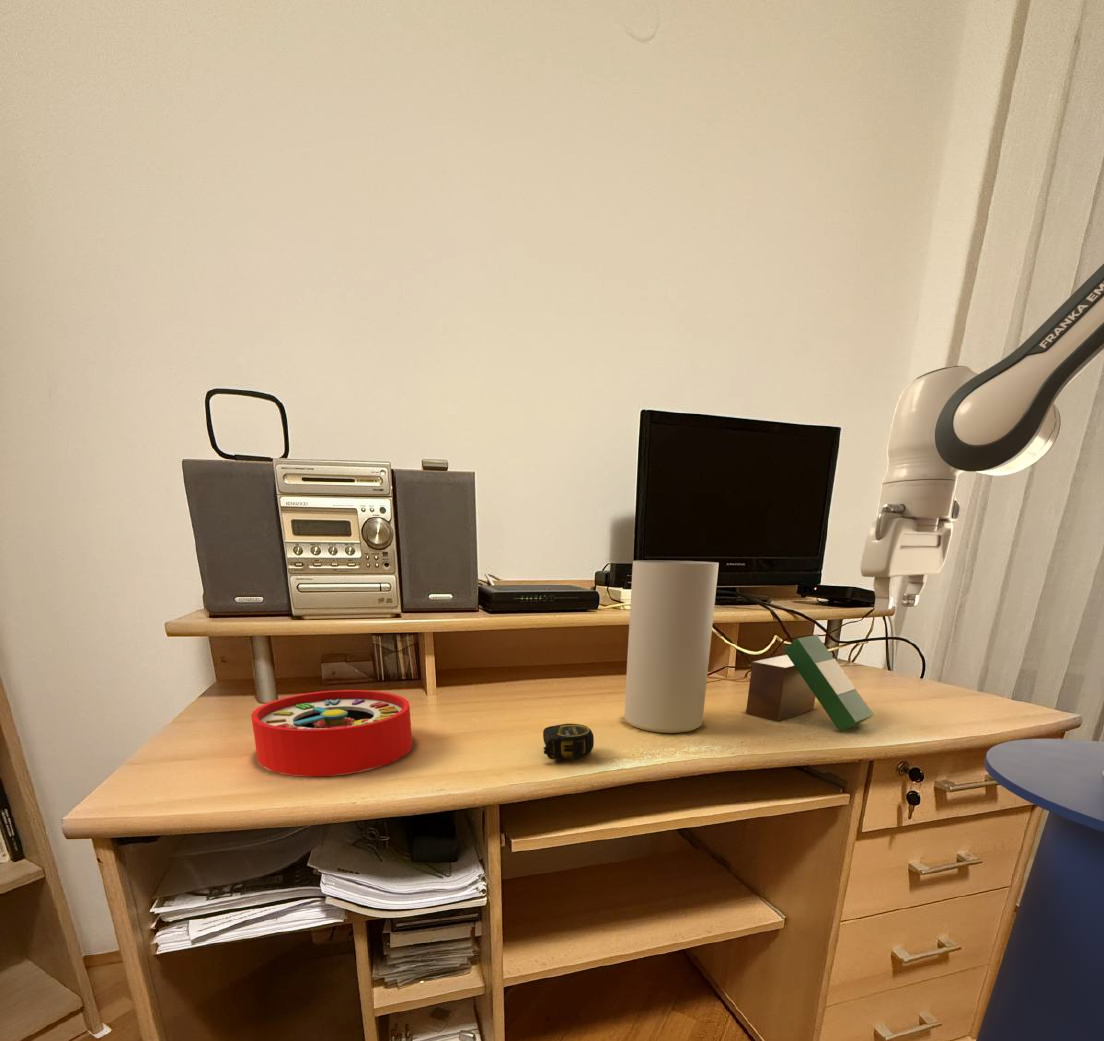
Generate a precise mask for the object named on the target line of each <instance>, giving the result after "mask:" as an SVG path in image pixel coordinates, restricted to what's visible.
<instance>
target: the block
mask: <svg viewBox="0 0 1104 1041" xmlns="http://www.w3.org/2000/svg"><path fill="white" fill-rule="evenodd" d="M748 685H749V686H748V693H747V700H746V708H745V713H746V714H748V715H752V716H755V717H760V718H763V719H767V720H771V721H775V722H779V721H782V720H786V719H788V718H792V717H794V716H798V715H801V714H803V713H807V712H809V711H810V712H811V711H813V710H814V707H815V703H816V696H815V695H814V694H813V692H812V691H811V689H810V688H809V686H808V685H807V683H806V682H805V680H804V679H803V677H802V676H801V675H800V673H799V672H798V670H797V669H796V667H795V666H794V664H793V663H792V661H791V660H790V659H789V657H788V656H787V654H783V655H779V656H778V655H777V656H774V657H769V658H763V659H759V660H755V661H752V662H751V669H750V678H749V684H748Z"/></svg>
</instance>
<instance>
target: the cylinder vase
mask: <svg viewBox="0 0 1104 1041" xmlns="http://www.w3.org/2000/svg"><path fill="white" fill-rule="evenodd" d="M719 564H720V563H719V562H714V561H697V560H696V561H694V560H633V561H632V569H631V586H630V587H631V588H630V589H631V590H630V608H629V624H628V625H629V626H628V642H627V643H628V644H627V661H626V676H625V677H626V678H625V692H624V694H625V695H624V711H623V712H624V714H623V717H624V719H625V721H626V722H627V724H628V725H630V726H632V727H634V728H636V729H640V730H642V731H647V732H652V733H653V732H654V733H661V734H680V733H681V734H682V733H687V732H691V731H694V730H697V729H698V728H700V726H701V725H702V724H703V721H704V713H705V701H706V693H707V685H708V684H707V683H708V672H709V664H710V652H711V643H712V634H713V623H714V615H715V606H716V605H715V603H716V596H717V595H716V594H717V585H718V584H717V583H718V574H719Z"/></svg>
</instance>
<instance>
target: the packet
mask: <svg viewBox="0 0 1104 1041" xmlns="http://www.w3.org/2000/svg"><path fill="white" fill-rule="evenodd" d="M783 651H784V653H785V655H787V656H788V657H789V659H790V660H791V661H792V663H793V664H794V666H795V667H796V669H797V670H798V672H799V673H800V675H801V676H802V677H803V679H804V680H805V682H806V683H807V685H808V686H809V688H810V689H811V691H812V692H813V694H814V695H815V696H816V697H815V699H816V700H817V701H818V702H819V704H820V705H821V707H822V708H823V710H824V711H825V713H826V714H827V715H828V717H829V718H830V720H831V721H832V723H833V724H834V726H835V727H836V729H837V730H838V731H839V732H842V731H845V730H847V729H850V728H853V727H855V726H857V725H860V724H862V723H863V722H865V721H867V720H868V719H871V717H873V716H874V715H875V714H874V712H872V710H871V708H870V707H869V706H868V704H867V703H866V701H865V700H864V699H863V697H862V696H861V694H860V693H859V691H858V690H857V688H856V686H855V685H854V684H853V682H852V681H851V680H850V677H848V675H847V674H846V672H845V671H844V669H843V668H842V667H841V665H840V664H839V662H838V661H837V660H836V658H834V656H833V655H832V654H831V652H830V651H829V650H828V648H827V647H826V646H825V644H824V643H823V641H822V640H821V639H820V637H819V635H818V634H815V635H810V636H804V637H798V638H796V639H795V640H793V641H792V642H791V643H789V644H788V645H787V646H786V647H784V648H783Z"/></svg>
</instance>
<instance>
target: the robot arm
mask: <svg viewBox="0 0 1104 1041" xmlns="http://www.w3.org/2000/svg"><path fill="white" fill-rule="evenodd" d="M1103 353H1104V263H1102V265H1100V266H1099V267H1098V268H1097V269H1096V271H1094V272H1093V273H1092V274H1091V275H1090V276H1089V277H1088V279H1087V280H1085V281H1084V282H1083V283H1082V284H1081V285H1080V286H1079V287H1078V288H1077V289H1076V290H1075V291H1074V292H1073V293H1072V294H1071V295H1070V296H1069V297H1068V298H1067V299H1066V300H1065V301H1064V302H1063V303H1062V304H1061V305H1060V306H1059V307H1058V308H1057V309H1056V310H1055V311H1054V312H1053V313H1052V314H1051V315H1050V316H1049V317H1048V318H1047V319H1046V320H1045V321H1044V322H1043V323H1042V324H1040V326H1039V327H1038V328H1037V329H1036V330H1035V331H1034V332H1033V333H1032V334H1031V335H1030V336H1029V337H1028V338H1027V339H1026V340H1025V341H1024V342H1023V343H1022V344H1021V345H1019V346H1018V347H1017V348H1016V349H1015V350H1014V351H1013V352H1011V353H1010V354H1008V355H1007V356H1005V357H1004V358H1003V359H1001V360H1000V361H998V362H997V363H995V364H994V365H992V366H990V367H989V368H987V369H985V370H983V371H982V372H980V373H977V372H975V371H974V370H972V369H971V368H970V367H968V366H966V365H954V366H953V365H952V366H948V367H947V366H946V367H941V368H937V369H935V370H931V371H928V372H925V373H924V374H921V375H919V376H918V377H916V378H915V379H914V380H912V381H911V382H909V383H908V384H907V385H906V386H905V387H904V388H903V390H902V392H901V394H900V396H899V398H898V401H897V403H896V406H895V410H894V414H893V417H892V422H891V427H890V430H889V437H888V442H887V447H886V456H887V468H886V471H885V475H884V476H883V478H882V481H881V486H880V492H879V499H878V505H877V511H876V518H875V519H874V520H872V522H871V523H870V525H869V527H868V530H867V533H866V537H865V541H864V546H863V550H862V555H861V559H860V560H861V561H860V574H861V577H864V578H874V579H873V583H872V586H873V592H874V596H875V597H874V598H875V599H874V608H873V609H874V610H875V611H879V612H887V611H891V610H892V608H893V603H894V597H892V590H893V589H892V588H893V586H894V584H895V579H896V578H898V577H907V583H908V584H907V586H906V590H905V593H904V594H902V601H901V606H902V607H905V608H913V607H917V606H919V602H920V597H921V594H922V592H923V590H924V588H925V586H926V584H927V580H928V576H929V575H938V574H940V572H941V570H942V569H943V567H944V565H945V562H946V560H947V556H948V552H949V549H950V544H951V539H952V536H953V530H954V524H953V522H956V521H958V520H959V519H960V515H961V510H962V507H961V504H960V502H959V501H958V500H957V497H956V488H957V481H958V477H959V475H960V474H961V473H964V472H969V473H970V472H971V473H972V472H973V473H974V472H975V473H979V474H985V475H989V476H1006V475H1011V474H1014V473H1018V472H1020V471H1023V470H1025V469H1027V468H1029V467H1031V466H1033V465H1034V464H1036V463H1037V462H1039V461H1040V460H1041V459H1042V458H1043V457H1045V455H1047V454H1048V452H1050V450H1051V449H1052V447H1053V446H1054V444H1055V443H1056V441H1057V438H1058V436H1059V433H1060V430H1061V415H1060V411H1059V408H1058V407H1057V405H1056V404H1055V403H1056V401H1057V399H1058V398H1059V396H1060V394H1061V393H1063V391H1064V389H1065V388H1066V387H1068V385H1069V384H1071V382H1072V381H1074V379H1075V378H1077V377H1078V376H1079V375H1080V374H1081V373H1083V371H1084V370H1086V369H1087V368H1088V367H1089V366H1090V365H1091V364H1092V363H1094V361H1095V360H1096V359H1097V358H1098V357H1099V356H1101V355H1102V354H1103ZM1102 774H1103V776H1104V771H1103V773H1102Z"/></svg>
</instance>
